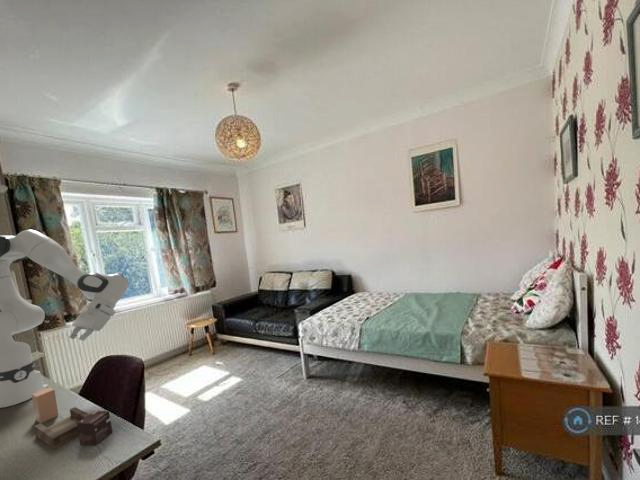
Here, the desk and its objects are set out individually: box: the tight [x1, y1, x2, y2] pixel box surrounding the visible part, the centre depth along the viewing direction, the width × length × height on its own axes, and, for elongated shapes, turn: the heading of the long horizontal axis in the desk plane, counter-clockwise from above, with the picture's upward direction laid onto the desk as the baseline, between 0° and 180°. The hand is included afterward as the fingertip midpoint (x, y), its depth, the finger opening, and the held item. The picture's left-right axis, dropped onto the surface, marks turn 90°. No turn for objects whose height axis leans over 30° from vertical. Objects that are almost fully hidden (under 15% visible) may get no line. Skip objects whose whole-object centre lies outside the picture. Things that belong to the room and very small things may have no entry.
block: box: [31, 386, 59, 424], centre depth 109 cm, size 5×5×10 cm
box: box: [77, 410, 113, 447], centre depth 93 cm, size 6×6×7 cm
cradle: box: [34, 406, 91, 450], centre depth 99 cm, size 16×11×4 cm
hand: (76, 339), depth 119 cm, fingers open, 8 cm apart
